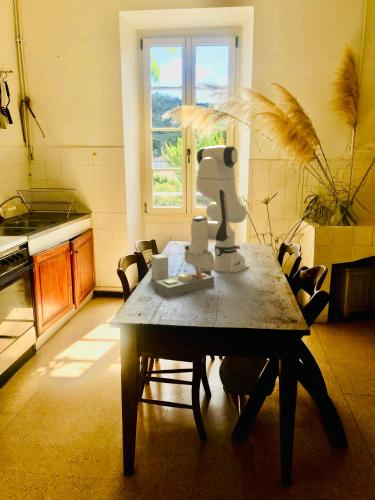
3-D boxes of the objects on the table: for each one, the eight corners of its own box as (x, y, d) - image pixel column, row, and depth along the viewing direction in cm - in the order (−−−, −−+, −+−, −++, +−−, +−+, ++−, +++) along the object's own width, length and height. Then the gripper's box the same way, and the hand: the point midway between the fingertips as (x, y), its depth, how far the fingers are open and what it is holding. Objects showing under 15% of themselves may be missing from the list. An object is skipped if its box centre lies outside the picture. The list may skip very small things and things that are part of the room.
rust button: (199, 280, 206) (199, 272, 205) (205, 282, 202) (205, 275, 201) (192, 281, 203) (192, 274, 202) (198, 284, 199) (198, 276, 198)
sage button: (171, 286, 195) (171, 279, 194) (177, 289, 191) (177, 281, 190) (163, 288, 192) (163, 280, 191) (169, 291, 188) (169, 283, 188)
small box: (168, 280, 208) (168, 257, 205) (157, 282, 205) (157, 258, 202) (162, 276, 215) (161, 253, 212) (151, 278, 212) (150, 255, 209)
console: (199, 279, 210) (199, 271, 209) (213, 285, 201) (214, 277, 200) (155, 290, 194) (155, 281, 193) (168, 296, 184) (168, 287, 183)
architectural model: (210, 276, 217) (210, 263, 215) (197, 275, 218) (198, 263, 217) (211, 275, 220) (211, 262, 218) (199, 274, 222) (199, 261, 220)
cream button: (186, 280, 200) (186, 273, 199) (191, 283, 196) (191, 275, 195) (178, 282, 197) (178, 275, 196) (184, 285, 193) (184, 277, 192)
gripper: (217, 251, 192) (217, 278, 195) (192, 244, 208) (191, 269, 211) (207, 253, 188) (207, 280, 191) (182, 245, 204) (182, 271, 207)
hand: (199, 274), depth 201 cm, fingers closed, pressing on rust button
